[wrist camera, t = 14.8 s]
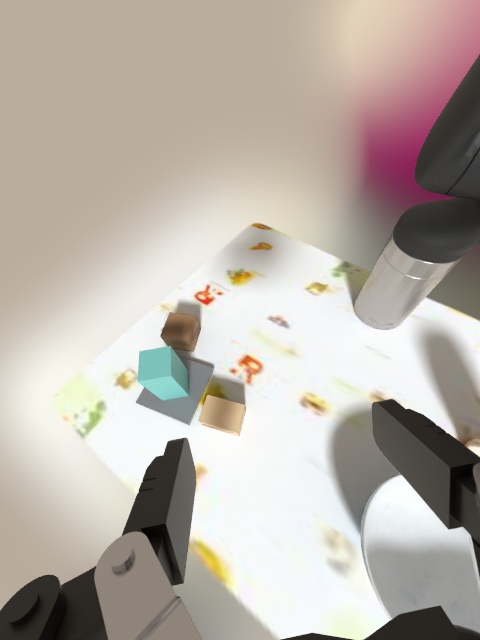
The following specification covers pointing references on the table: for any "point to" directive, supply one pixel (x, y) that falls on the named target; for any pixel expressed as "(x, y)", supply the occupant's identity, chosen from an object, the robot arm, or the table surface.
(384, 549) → the chinaware
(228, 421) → the oak block
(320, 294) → the table surface
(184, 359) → the coaster
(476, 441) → the beer glass
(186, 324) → the walnut cube
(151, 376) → the teal block
